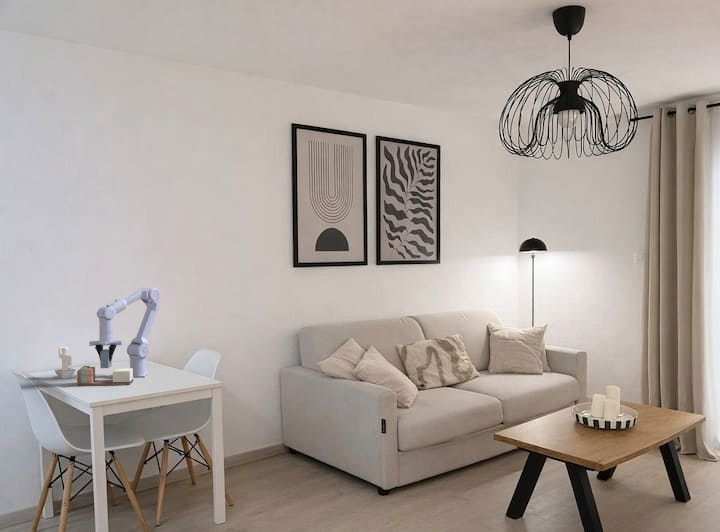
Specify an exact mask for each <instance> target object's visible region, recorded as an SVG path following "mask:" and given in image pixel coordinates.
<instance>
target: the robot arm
mask: <svg viewBox="0 0 720 532" xmlns="http://www.w3.org/2000/svg"><path fill="white" fill-rule="evenodd" d="M161 297H162V295H161V292H160V290H159V289H158V288H156V287H153V288H151V287H145V286H144V287H141V288H140V289H137V290H136V291H134V292H133V293H131V294H129V295H128V296H127V297H125V298H116V299H114V301H113V302H111V303H107V304H106V306H100V307H99V308H98V310H97V312H96V316H97V318H98V321H99V323H98V325H99V327H98V329H99V332H98V333H99V340H90V341H89V344H88V345H89V346H90V347H91V346H92V347H93V346H95V347H94V348H95V349H94V350H96V352H97V354H98V358H99V359H100V351H102V350H104V346H108V349H109V361H113V356H114V352H115V350H116V349H117V346H120V347H121V346H123V340H113V319H114V318H115V316H116V315H117V314H119V313H121V312H123V311H124V310H125V311H126V308H127V306H129V305H131V304H133V303H134V302H135V303H136V302H137V301H138V300H140V301H142V302H143V304H144V305H145V306H146V309H145V312H144V315H143V318H142V321H141V323H140V326H139V328H138V332H137V334H136V336H135V337H134V338H133V339H132V340H131V341H130V343H129V344H128V345H127V347H126V353H127V355H128V357H129V368H133V378H137V377H139V378H142V377H143V378H144V377H146V376H147V375H148V373H149V371H147V360H146V358H147V356H148V354H149V348H150V347H149V346H150V343H149V341H148V339H149V336H150V333H151V330H152V328H153V325H154V322H155V320H156V317H157V314H158V311H159V309H160V300H161Z"/></svg>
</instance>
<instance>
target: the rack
mask: <svg viewBox="0 0 720 532" xmlns="http://www.w3.org/2000/svg"><path fill="white" fill-rule="evenodd" d="M76 378H77V380H76V381H77V383H76V386H77V387H97V386H99V387H100V386H104V387H105V386H107V387H108V386H129V385H131V384H132V383H133V382H134V378H133V379H132V380H131V381H130V382H113V379H96V366H90V365H83V366H82V367H80V369H78V370H76Z"/></svg>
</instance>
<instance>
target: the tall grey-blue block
mask: <svg viewBox="0 0 720 532" xmlns="http://www.w3.org/2000/svg"><path fill="white" fill-rule="evenodd" d="M112 361H113V360H112ZM112 361H109V348H107V349H106V348H105V349H104V348H103V350H102V351H100V358H99V362H100V364H99V365H100V369H109V368H111V367H112Z"/></svg>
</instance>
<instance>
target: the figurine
mask: <svg viewBox="0 0 720 532" xmlns="http://www.w3.org/2000/svg"><path fill="white" fill-rule="evenodd" d="M69 352H70V351H69V346H61V347H58V357H59V359H61V369H60V368H58V369H54V373H56V375H57V378H59V379H68V378H72V377H73V376H74V374H75V373H76V372H77V370H76V369H75V368H72V367H70V366H72V356H71V354H69Z"/></svg>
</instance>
